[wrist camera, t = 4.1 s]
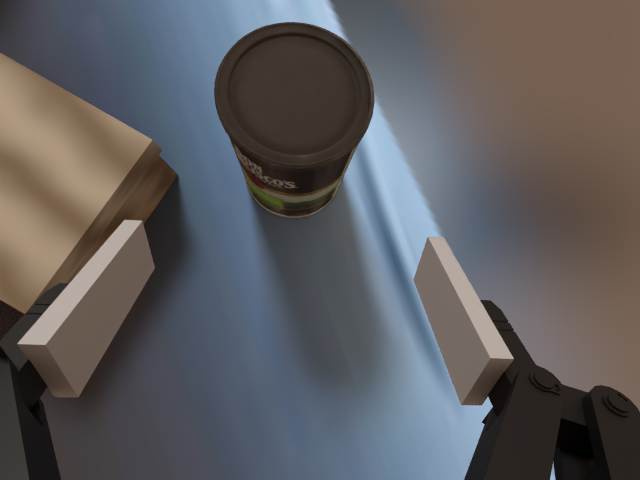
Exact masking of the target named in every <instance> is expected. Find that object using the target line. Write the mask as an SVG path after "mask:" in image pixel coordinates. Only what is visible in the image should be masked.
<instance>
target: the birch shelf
mask: <svg viewBox="0 0 640 480" xmlns="http://www.w3.org/2000/svg"><path fill="white" fill-rule="evenodd" d="M161 151H162V150H161V149H160V148H159V147H158V145H157V144H156V143H155V142H154V141H153V140H152V139H150V138H148V137H147V136H145V135H143V134H141V133H140V132H138V131H136V130H134V129H133V128H131V127H129V126H127V125H126V124H124V123H122V122H120V121H119V120H117V119H115V118H113V117H112V116H110V115H108V114H106V113H105V112H103V111H101V110H99V109H98V108H96V107H94V106H92V105H91V104H89V103H87V102H85V101H84V100H82V99H80V98H78V97H77V96H75V95H73V94H71V93H70V92H68V91H66V90H64V89H63V88H61V87H59V86H57V85H56V84H54V83H52V82H50V81H49V80H47V79H45V78H43V77H42V76H40V75H38V74H36V73H35V72H33V71H31V70H29V69H28V68H26V67H24V66H22V65H21V64H19V63H17V62H15V61H14V60H12V59H10V58H8V57H7V56H5V55H3V54H1V53H0V300H1V301H3V302H5V303H7V304H8V305H10V306H12V307H13V308H15V309H17V310H19V311H20V312H22V313H24V314H26V312H27V311H28V310H29V309H30V308H31V307H32V306H34V303H35V302H36V301H37V300H38V299H39V298H40V297H41V296H42V295H43V294H44V293H45V292H46V291H48V290H49V289H51V288H52V287H54V286H55V285H57V284H59V283H70V282H71V281H72V280H73V279H74V278H75V276H76V275H77V274H78V273H79V272H80V271H81V269H82V268H83V267H84V266H85V265H86V264H87V263H88V261H89V260H90V259H91V258H92V257H93V256H94V254H95V253H96V252H97V251H98V250H99V249H100V248H101V246H102V245H103V244H104V243H105V242H106V241H107V240H108V238H109V237H110V236H111V235H112V234H113V233H114V231H115V230H116V229H117V228H118V227H119V226H120V225H121V223H122V222H123V221H124V220H138V221H143V225H144V223H145V222H146V221H147V219H148V218H149V216H150V215H151V213H152V212H153V211H154V209H155V208H156V206H157V205H158V203H159V202H160V200H161V199H162V198H163V196H164V195H165V193H166V192H167V190H168V189H169V187H170V186H171V185H172V183H173V182H174V180H175V179H176V177H177V176H178V175H177V174H176V173H175V172H174V170H173V169H172V168H171V167H170V166H169V165H168V164H167V163H166V162H165V161H164V160H163V159H162V158H161V157H160V156H159V154H160V152H161Z"/></svg>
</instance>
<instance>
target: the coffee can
mask: <svg viewBox="0 0 640 480" xmlns="http://www.w3.org/2000/svg"><path fill="white" fill-rule="evenodd" d="M214 94H215V104H216V109H217V113H218V116H219V118H220V121H221V123H222V125H223V127H224V129H225V131H226V132H227V134H228V135H229V138H230V140H231V143H232V146H233V148H234V151H235V153H236V155H237V158H238V160H239V163H240V166H241V168H242V171H243V174H244V176H245V180H246V183H247V186H248V189H249V191H250V193H251V195H252V196H253V198H254V199H255V200H256V201H257V203H258V204H259V205H260V206H261V207H263V208H264V209H265V210H267V211H269V212H271V213H273V214H275V215H278V216H281V217H286V218H303V217H307V216H311V215H313V214H315V213H317V212H319V211H321V210H322V209H324V208H325V207H326V206H327V205H328V204H329V203H330V202H331V201H332V200H333V198H334V197H335V195H336V193H337V191H338V189H339V186H340V183H341V181H342V178H343V176H344V174H345V172H346V170H347V168H348V165H349V163H350V161H351V159H352V157H353V154H354V152H355V150H356V148H357V146H358V144H359V142H360V141H361V139H362V137H363V136H364V134H365V132H366V131H367V129H368V126H369V124H370V121H371V118H372V114H373V108H374V90H373V83H372V80H371V77H370V74H369V72H368V69H367V67H366V65H365V63H364V62H363V60H362V59H361V57H360V56H359V55H358V54H357V52H356V51H355V50H354V49H353V48H352V47H351V46H350V45H349V44H348V43H347V42H346V41H345V40H343V39H342V38H341V37H339V36H337V35H336V34H334V33H332V32H330V31H328V30H326V29H323V28H321V27H318V26H315V25H311V24H306V23H297V22H285V23H277V24H272V25H267V26H264V27H261V28H259V29H256V30H254V31H252V32H250V33H249V34H247V35H245V36H244V37H243V38H241V39H240V40H239V41H238V42H237V43H236V44H235V45H234V46H233V47H232V48H231V49H230V50H229V51H228V53H227V54H226V56H225V57H224V59H223V60H222V62H221V64H220V66H219V69H218V72H217V75H216V79H215V88H214Z"/></svg>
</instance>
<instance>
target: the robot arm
mask: <svg viewBox="0 0 640 480" xmlns="http://www.w3.org/2000/svg"><path fill="white" fill-rule="evenodd" d="M154 269H155V266H154V263H153V259H152V255H151V251H150V248H149V244H148V240H147V236H146V232H145V229H144V225H143V221H138V220H124V221H123V222H122V223H121V225H120V226H119V227H118V228H117V229H116V230H115V231H114V233H113V234H112V235H111V236H110V237H109V238H108V240H107V241H106V242H105V243H104V244H103V245H102V246H101V248H100V249H99V250H98V251H97V252H96V253H95V254H94V256H93V257H92V258H91V259H90V260H89V261H88V263H87V264H86V265H85V266H84V267H83V268H82V269H81V271H80V272H79V273H78V274H77V275H76V276H75V278H74V279H73V280H72V281H71V282H70V283H59V284H57V285H55V286H54V287H52V288H51V289H49V290H48V291H46V292H45V293H44V294H43V295H42V296H41V297H40V298H39V299H38V300H37V301H36V302H35V303H34V306H32V307H31V308H30V309H29V310H28V311H27V312H26V315H23V316H22V317H21V318H20V320H19V321H18V322H17V323H16V324H15V325H14V326H13V327H12V328H11V329H10V330H9V331H8V333H7V334H6V335H5V336H4V337H3V338H2V339H1V340H0V480H61V477H60V473H59V469H58V465H57V460H56V456H55V452H54V448H53V443H52V439H51V435H50V431H49V426H48V422H47V418H46V414H45V409H44V405H43V402H42V401H41V399H40V397H41V395H42V394H43V392H44V391H45V389H46V388H48V389H49V391H50V392H51V394H52V395H53V396H54V397H77V398H78V397H79V395H80V394H81V392H82V390H83V389H84V387H85V385H86V384H87V382H88V380H89V379H90V377H91V375H92V373H93V372H94V370H95V368H96V367H97V365H98V363H99V362H100V360H101V358H102V357H103V355H104V353H105V351H106V350H107V348H108V346H109V345H110V343H111V341H112V340H113V338H114V336H115V335H116V333H117V331H118V330H119V328H120V326H121V324H122V323H123V321H124V319H125V318H126V316H127V314H128V313H129V311H130V309H131V308H132V306H133V304H134V302H135V301H136V299H137V297H138V296H139V294H140V292H141V291H142V289H143V287H144V286H145V284H146V282H147V280H148V279H149V277H150V275H151V274H152V272H153V270H154ZM414 282H415V285H416V288H417V290H418V293H419V295H420V298H421V301H422V303H423V306H424V309H425V311H426V314H427V316H428V319H429V322H430V324H431V327H432V330H433V332H434V335H435V337H436V340H437V343H438V345H439V348H440V351H441V353H442V356H443V358H444V361H445V364H446V366H447V369H448V372H449V374H450V377H451V379H452V382H453V385H454V387H455V390H456V393H457V395H458V398H459V400H460V403H461V405H482V404H483V403H484V401H485V400H486V399H487V397H489V399H490V401H491V403H492V405H493V407H492V409H491V410H490V412H489V413H488V414H487V416H486V417H485V418H484V420H483V421H482V423H484V424H485V425H484V428H483V431H482V433H481V436H480V439H479V441H478V444H477V447H476V449H475V452H474V455H473V457H472V460H471V463H470V466H469V468H468V471H467V474H466V476H465V479H464V480H550V476H551V470H552V464H553V461H554V470H555V478H556V480H640V412H639V410H638V408H637V407H636V406H635V405H634V404H633V403H632V401H631V400H630V399H629V398H627V397H626V396H624V395H623V394H622V393H620V392H618V391H617V390H615V389H612V388H610V387H606V386H602V385H601V386H595V387H594V388H593V389H592V390H591V391H590V392H589V393H588V392H584V391H581V390H578V389H575V388H572V387H568V386H565V385H562V384H561V382H560V381H559V380H558V379H557V378H556V377H555V376H554V375H553V374H552V373H550V372H549V371H548V370H546V369H544V368H542V367H539V366H537V365H536V364H535V363H534V361H533V360H532V358H531V357H530V355H529V353H528V352H527V350H526V349H525V347H524V345H523V344H522V342H521V341H520V339H519V338H518V336H517V334H516V333H515V332H514V331H513V328H512V326H511V325H510V323H508V320H507V319H506V317H505V315H504V314H503V312H502V311H501V310H500V309H499V308H498V307H497V306H496V305H495V304H494V303H493V302H491V301H488V300H479V298H478V296H477V294H476V293H475V291H474V289H473V287H472V286H471V284H470V282H469V281H468V279H467V277H466V275H465V274H464V272H463V270H462V268H461V267H460V265H459V263H458V262H457V260H456V258H455V256H454V255H453V253H452V251H451V250H450V248H449V246H448V244H447V243H446V241H445V239H444V238H442V237H428V238H427V241H426V244H425V247H424V250H423V253H422V256H421V259H420V262H419V265H418V268H417V271H416V274H415V277H414Z"/></svg>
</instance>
